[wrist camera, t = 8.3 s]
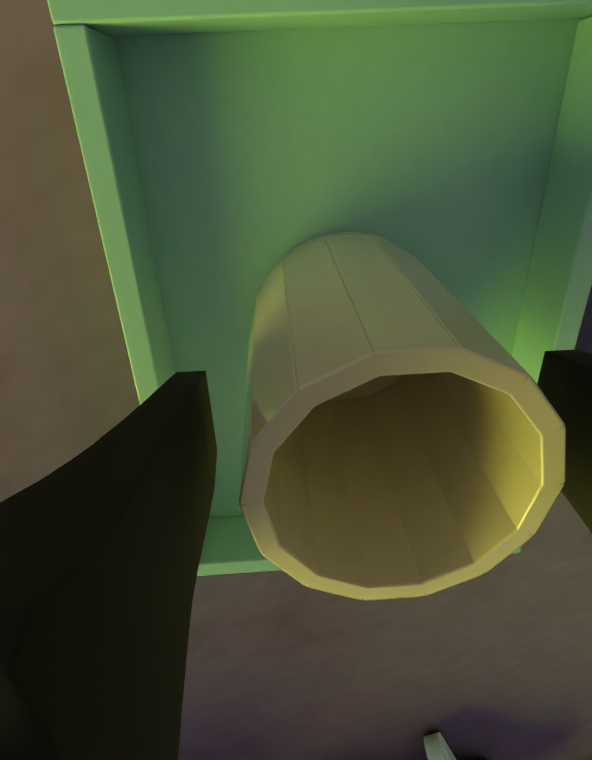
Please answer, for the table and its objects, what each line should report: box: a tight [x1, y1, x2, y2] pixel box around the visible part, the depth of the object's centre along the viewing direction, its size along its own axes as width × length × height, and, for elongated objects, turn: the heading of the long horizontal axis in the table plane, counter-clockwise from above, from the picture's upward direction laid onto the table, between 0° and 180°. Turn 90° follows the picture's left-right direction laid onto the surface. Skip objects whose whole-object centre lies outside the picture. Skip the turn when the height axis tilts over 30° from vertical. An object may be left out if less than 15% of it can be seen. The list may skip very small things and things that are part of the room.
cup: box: [239, 232, 566, 600], centre depth 11 cm, size 5×5×7 cm
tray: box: [47, 0, 592, 576], centre depth 13 cm, size 15×11×2 cm
